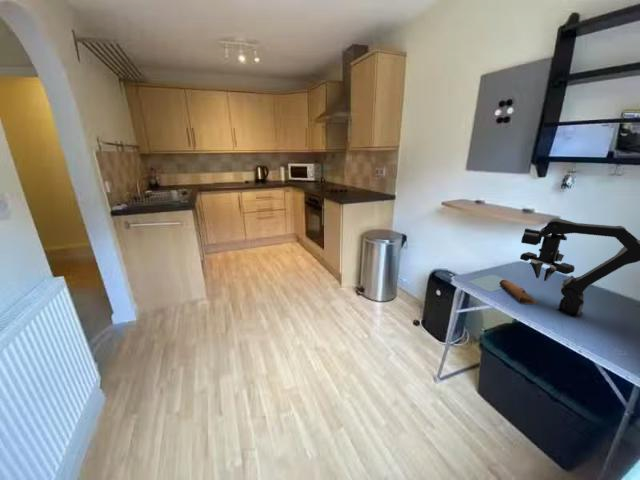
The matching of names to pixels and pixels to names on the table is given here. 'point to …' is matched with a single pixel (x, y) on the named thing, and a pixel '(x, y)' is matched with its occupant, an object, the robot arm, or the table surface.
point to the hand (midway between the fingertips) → (541, 279)
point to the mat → (488, 283)
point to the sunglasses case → (517, 292)
